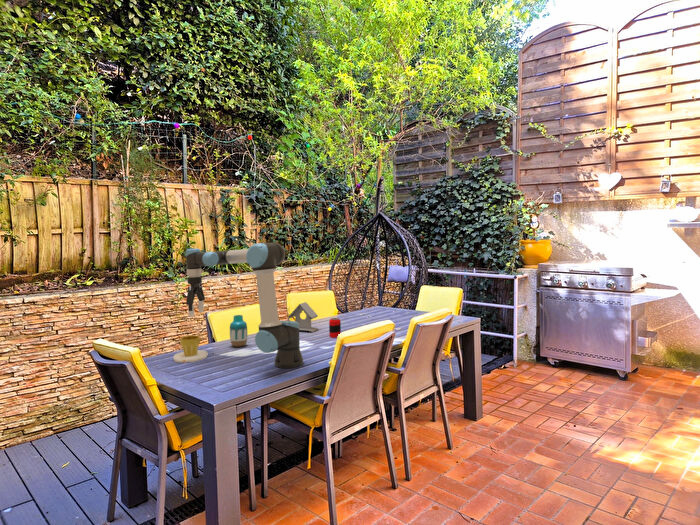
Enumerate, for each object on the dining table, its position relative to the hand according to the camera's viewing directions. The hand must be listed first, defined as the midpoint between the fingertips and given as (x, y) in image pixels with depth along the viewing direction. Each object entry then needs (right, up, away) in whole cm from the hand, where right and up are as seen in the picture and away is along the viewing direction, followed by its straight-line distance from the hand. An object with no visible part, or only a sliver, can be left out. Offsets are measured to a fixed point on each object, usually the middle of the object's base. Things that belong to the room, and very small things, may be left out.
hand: (196, 314), depth 240 cm
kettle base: (-4, -25, +3) cm, 26 cm away
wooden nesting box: (+52, -20, +67) cm, 87 cm away
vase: (+17, -23, +27) cm, 40 cm away
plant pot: (-4, -23, +3) cm, 24 cm away
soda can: (+75, -21, +48) cm, 92 cm away
